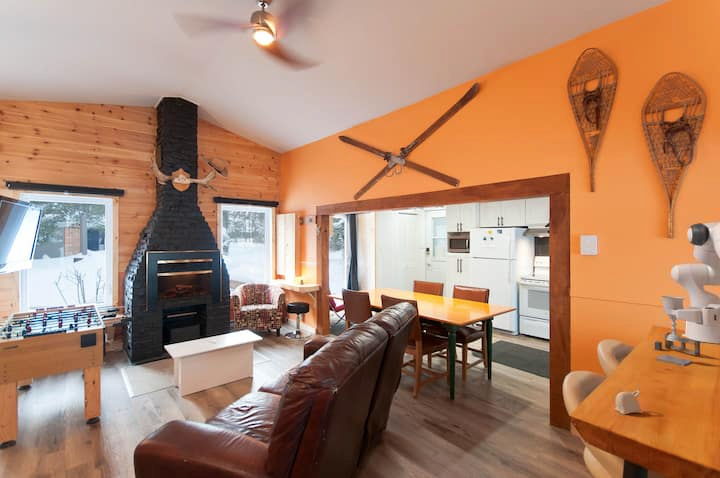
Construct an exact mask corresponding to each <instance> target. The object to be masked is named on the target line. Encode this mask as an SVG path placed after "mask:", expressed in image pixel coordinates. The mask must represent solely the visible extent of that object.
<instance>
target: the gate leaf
mask: <svg viewBox="0 0 720 478" xmlns="http://www.w3.org/2000/svg"><path fill="white" fill-rule="evenodd" d="M668 335H669V334H667V333H665V334H664V348H666V349H670V350H673V351H677V352H682V353H686V354H689V355H692V356H696V357H700V356H701V343H700V342H701V341H696V340H692V339H689V338H686V337H681V336H680V338H681V340H682V341H683V342H680V346H677V345H674V344H673V345H671V341H669V340H666V339H667V338H668ZM686 344H689V345H692V346H693V347H694V350H692V349H688V348H687V347H686V346H687V345H686Z"/></svg>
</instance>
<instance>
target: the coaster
mask: <svg viewBox="0 0 720 478" xmlns="http://www.w3.org/2000/svg"><path fill="white" fill-rule="evenodd" d="M655 361H661V362H665V363H670V364H674V365H678V366H682V367H683V366H684V367H685V366H687V365H690V364H691V363H693V362H694V361H693V360H692V359H686V358H681V357H676V356H672V355H668V354H663V355H660V356H658V357H655Z"/></svg>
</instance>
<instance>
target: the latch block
mask: <svg viewBox="0 0 720 478" xmlns="http://www.w3.org/2000/svg"><path fill="white" fill-rule="evenodd" d="M654 350H655V351H662V350H663V342H662V341H658V340H656V341H654Z"/></svg>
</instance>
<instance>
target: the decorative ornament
mask: <svg viewBox="0 0 720 478" xmlns="http://www.w3.org/2000/svg"><path fill="white" fill-rule="evenodd" d="M640 394H641V391H640V390H639V389H637V390H634V391H633V392H629V391H621V392H619V393H617V395H616V396H615V406H616V407H614V409H615V410H616V411H617V412H618V413H620V414H621V415H623V416H624V415H628V414H631V413H641V414H644V413H643V411H642V410H641V405H640V403H639V400H638V399H637V398H638V397H639V396H640Z"/></svg>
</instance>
